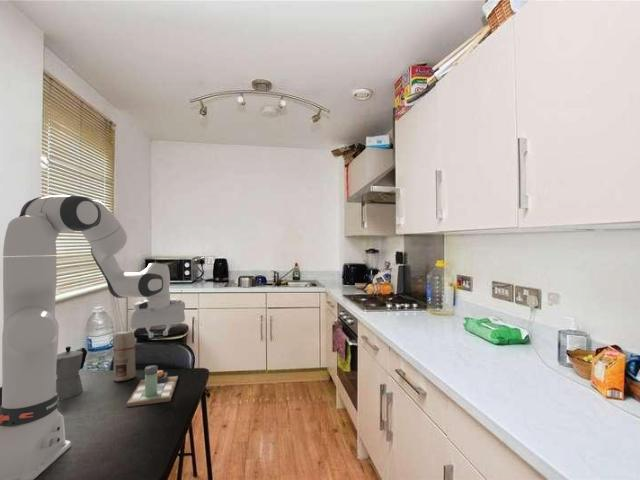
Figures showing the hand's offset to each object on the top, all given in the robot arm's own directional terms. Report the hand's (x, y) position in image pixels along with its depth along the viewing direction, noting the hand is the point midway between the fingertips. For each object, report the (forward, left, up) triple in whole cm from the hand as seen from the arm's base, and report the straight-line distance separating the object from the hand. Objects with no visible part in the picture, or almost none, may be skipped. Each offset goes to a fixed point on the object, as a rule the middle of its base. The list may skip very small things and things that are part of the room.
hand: (158, 336), depth 137 cm
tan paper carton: (+11, +15, -19) cm, 27 cm away
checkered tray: (-8, 0, -19) cm, 21 cm away
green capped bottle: (-15, 0, -18) cm, 23 cm away
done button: (0, 0, -16) cm, 16 cm away
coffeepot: (+1, +31, -19) cm, 37 cm away
